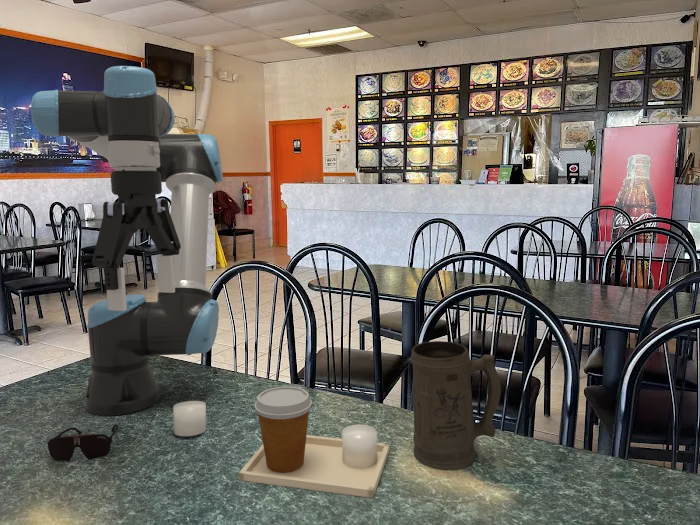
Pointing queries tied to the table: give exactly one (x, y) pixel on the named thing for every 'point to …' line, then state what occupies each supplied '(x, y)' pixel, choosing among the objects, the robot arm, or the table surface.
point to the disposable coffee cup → (284, 426)
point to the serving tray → (320, 470)
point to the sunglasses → (89, 445)
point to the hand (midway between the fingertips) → (144, 300)
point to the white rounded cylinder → (359, 446)
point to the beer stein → (449, 404)
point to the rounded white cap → (189, 418)
